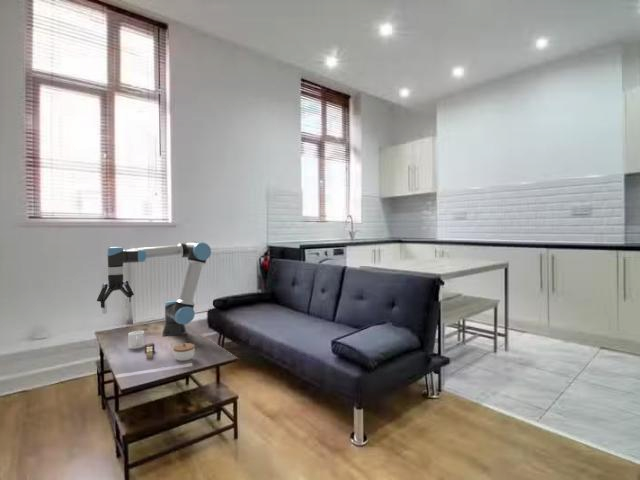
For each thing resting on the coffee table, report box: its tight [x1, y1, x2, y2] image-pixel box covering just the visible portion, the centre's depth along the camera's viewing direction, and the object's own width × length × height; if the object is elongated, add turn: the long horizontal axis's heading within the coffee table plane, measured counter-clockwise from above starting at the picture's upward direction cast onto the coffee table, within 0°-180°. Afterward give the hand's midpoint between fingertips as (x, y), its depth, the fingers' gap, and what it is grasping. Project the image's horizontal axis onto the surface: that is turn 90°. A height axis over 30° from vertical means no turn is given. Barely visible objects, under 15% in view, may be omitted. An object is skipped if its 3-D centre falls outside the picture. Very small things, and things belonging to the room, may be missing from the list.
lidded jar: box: [173, 342, 196, 362], centre depth 186 cm, size 11×11×9 cm
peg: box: [144, 342, 155, 359], centre depth 190 cm, size 14×5×4 cm, turn 26°
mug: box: [127, 330, 145, 350], centre depth 201 cm, size 8×12×10 cm
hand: (116, 310), depth 195 cm, fingers open, 13 cm apart
